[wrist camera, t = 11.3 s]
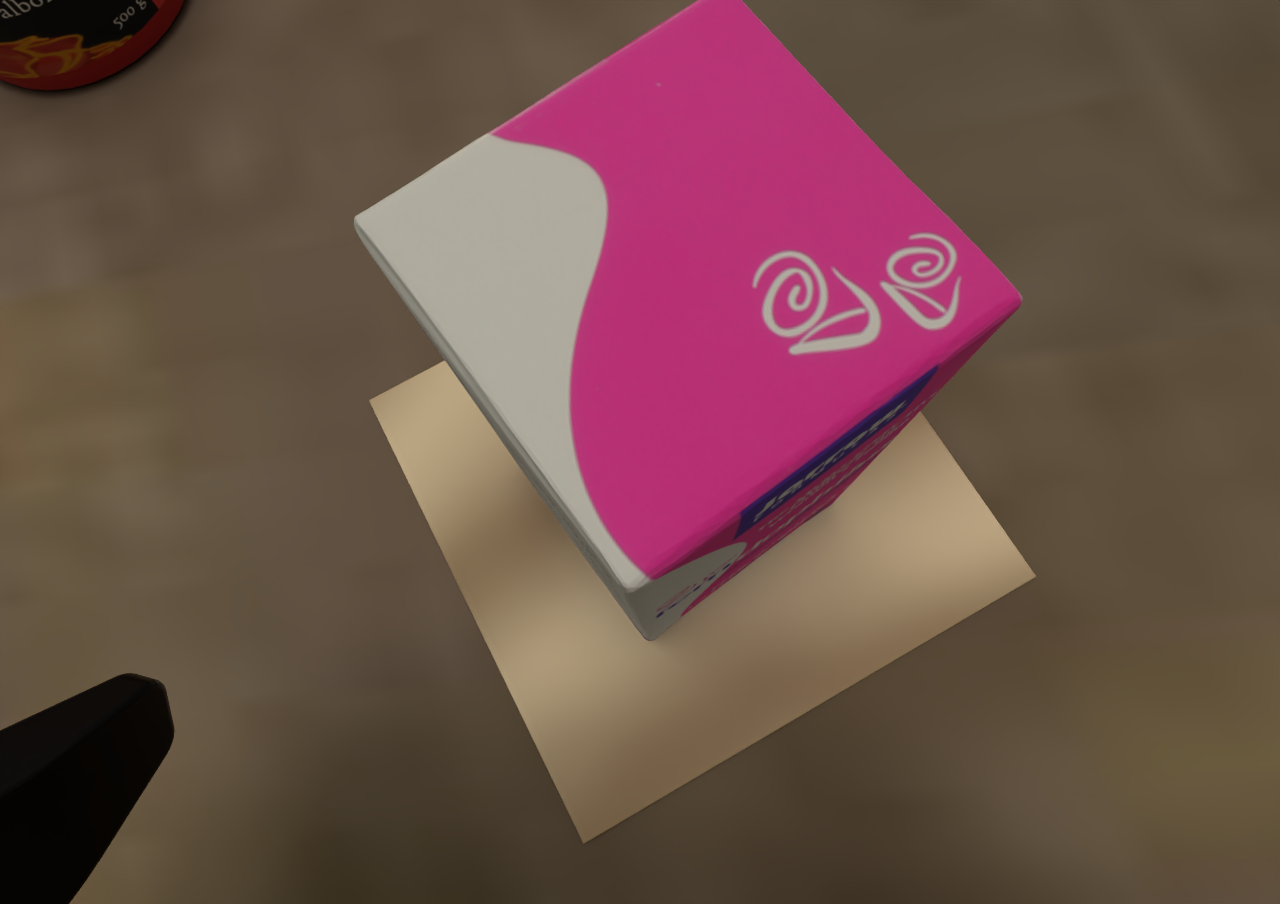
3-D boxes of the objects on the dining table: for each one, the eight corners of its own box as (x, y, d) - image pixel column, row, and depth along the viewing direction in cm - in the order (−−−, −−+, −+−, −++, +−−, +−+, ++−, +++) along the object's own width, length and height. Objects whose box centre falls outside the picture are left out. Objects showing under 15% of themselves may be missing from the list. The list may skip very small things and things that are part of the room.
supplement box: (654, 653, 19) (611, 609, 8) (514, 458, 21) (319, 199, 10) (846, 508, 20) (1045, 287, 9) (698, 329, 21) (712, -50, 10)
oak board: (1016, 582, 20) (1036, 576, 19) (589, 834, 19) (583, 843, 18) (762, 215, 24) (766, 191, 22) (385, 415, 23) (369, 400, 21)
